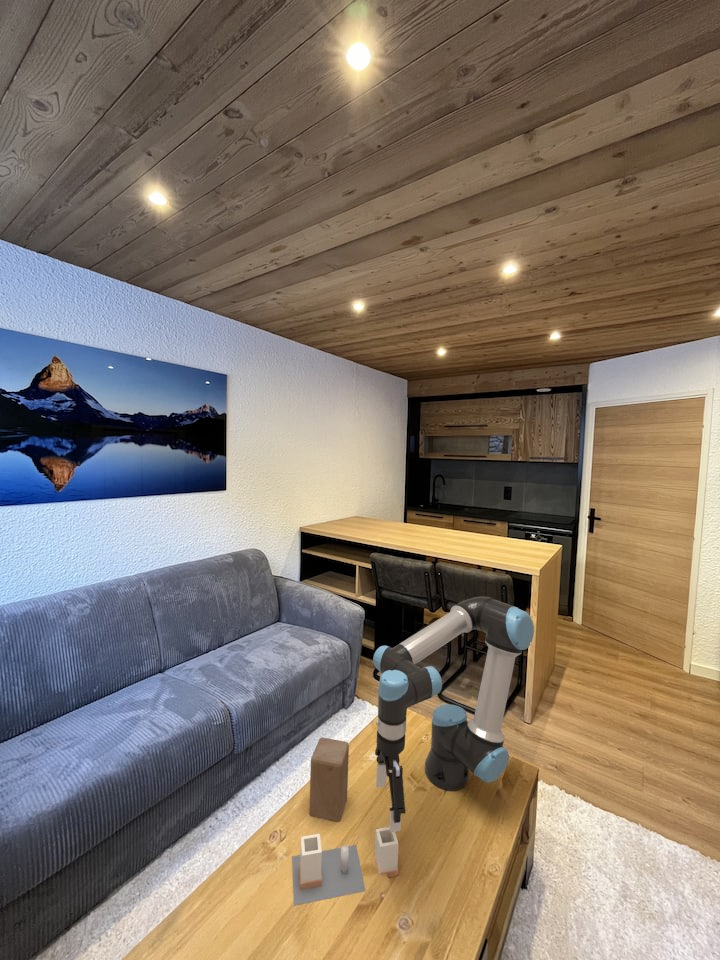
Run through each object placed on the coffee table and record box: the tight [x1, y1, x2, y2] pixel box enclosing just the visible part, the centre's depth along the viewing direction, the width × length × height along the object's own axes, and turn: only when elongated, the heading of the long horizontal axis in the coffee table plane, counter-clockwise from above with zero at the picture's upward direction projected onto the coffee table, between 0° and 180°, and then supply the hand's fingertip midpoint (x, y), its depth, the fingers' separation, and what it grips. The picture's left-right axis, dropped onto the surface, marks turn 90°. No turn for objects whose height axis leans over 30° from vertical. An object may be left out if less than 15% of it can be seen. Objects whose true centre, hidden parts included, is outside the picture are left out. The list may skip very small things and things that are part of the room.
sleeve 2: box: [373, 826, 399, 879], centre depth 108 cm, size 6×6×9 cm
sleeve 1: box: [299, 833, 323, 890], centre depth 104 cm, size 6×6×9 cm
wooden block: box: [309, 737, 350, 823], centre depth 125 cm, size 10×10×20 cm
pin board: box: [291, 844, 366, 906], centre depth 105 cm, size 18×12×8 cm, turn 102°
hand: (387, 806), depth 107 cm, fingers open, 13 cm apart
